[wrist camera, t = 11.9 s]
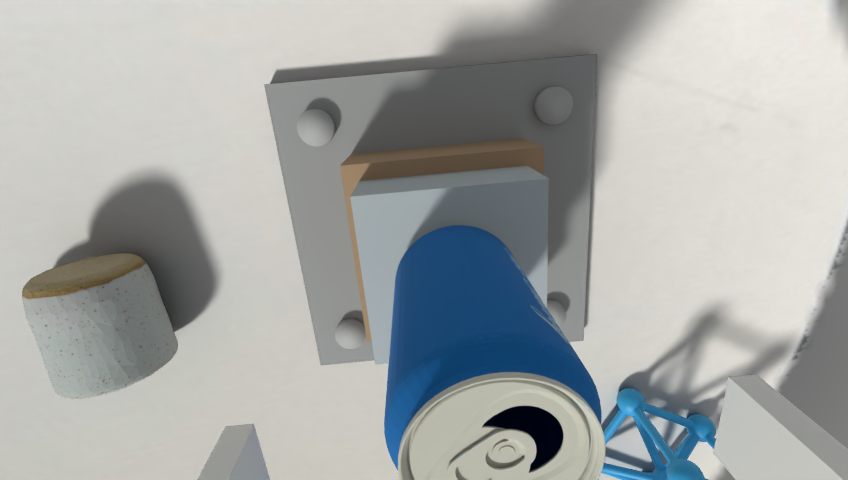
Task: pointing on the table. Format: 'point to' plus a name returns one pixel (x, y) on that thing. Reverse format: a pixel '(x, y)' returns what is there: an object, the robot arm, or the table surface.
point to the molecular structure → (659, 440)
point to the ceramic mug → (99, 324)
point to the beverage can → (483, 371)
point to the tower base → (424, 126)
